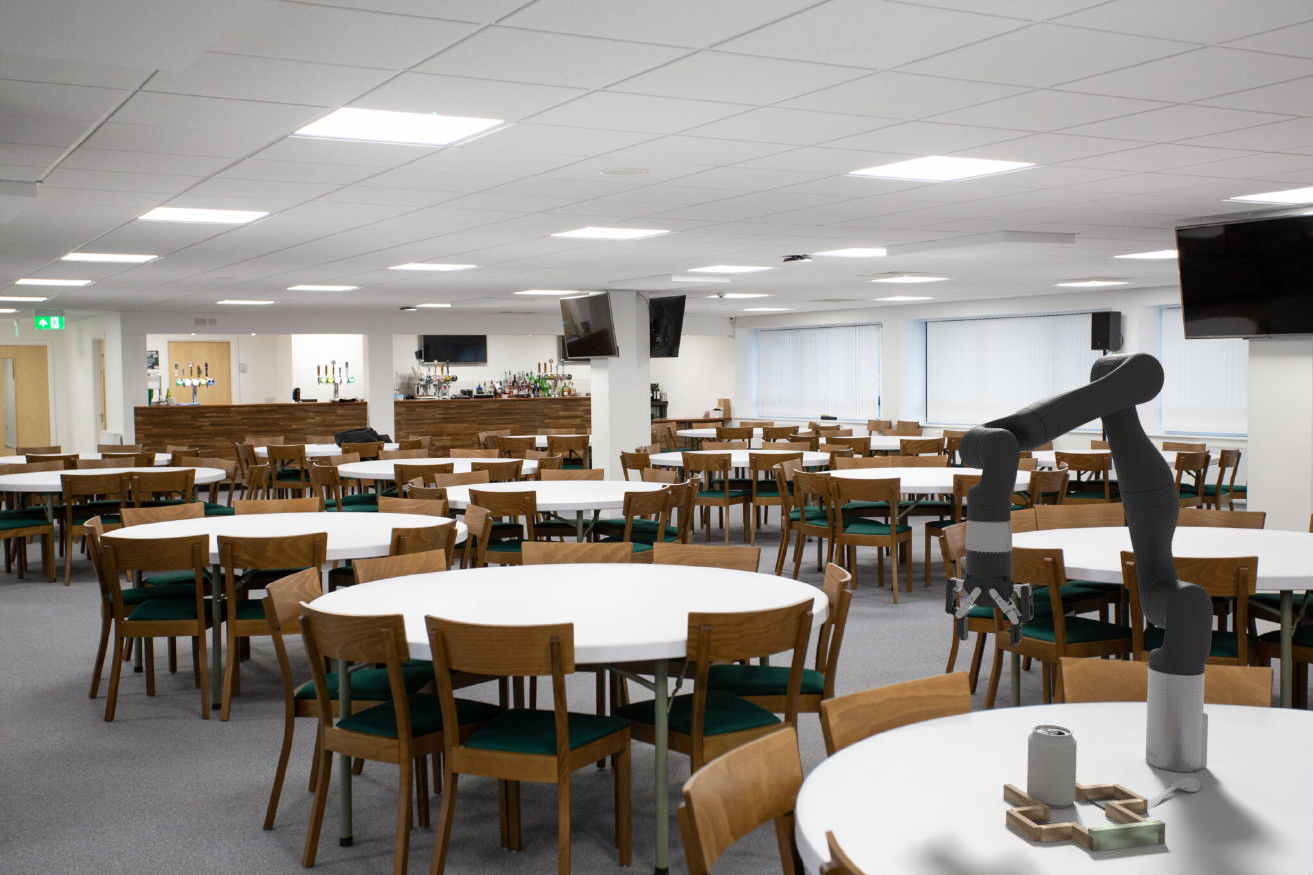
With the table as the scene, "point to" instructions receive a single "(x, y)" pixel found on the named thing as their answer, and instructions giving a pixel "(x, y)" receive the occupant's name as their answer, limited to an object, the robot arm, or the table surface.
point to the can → (1052, 765)
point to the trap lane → (1116, 805)
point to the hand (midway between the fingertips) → (988, 642)
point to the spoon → (1188, 783)
